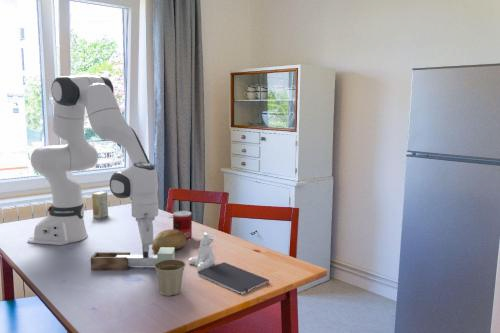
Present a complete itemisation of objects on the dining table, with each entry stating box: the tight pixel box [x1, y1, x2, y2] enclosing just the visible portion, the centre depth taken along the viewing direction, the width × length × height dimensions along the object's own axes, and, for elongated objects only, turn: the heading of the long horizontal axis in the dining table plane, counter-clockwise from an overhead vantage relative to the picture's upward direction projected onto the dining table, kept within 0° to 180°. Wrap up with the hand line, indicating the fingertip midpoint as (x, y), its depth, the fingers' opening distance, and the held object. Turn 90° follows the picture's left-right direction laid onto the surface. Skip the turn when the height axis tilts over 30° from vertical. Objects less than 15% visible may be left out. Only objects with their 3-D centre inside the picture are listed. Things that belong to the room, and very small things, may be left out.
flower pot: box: [153, 258, 187, 297], centre depth 130 cm, size 9×9×9 cm
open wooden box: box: [90, 251, 131, 271], centre depth 148 cm, size 12×5×4 cm, turn 93°
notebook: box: [197, 261, 270, 294], centre depth 140 cm, size 13×2×21 cm
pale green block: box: [156, 247, 176, 262], centre depth 148 cm, size 5×6×6 cm
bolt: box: [116, 245, 157, 267], centre depth 148 cm, size 16×3×9 cm, turn 93°
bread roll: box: [151, 228, 187, 254], centre depth 166 cm, size 10×15×8 cm, turn 138°
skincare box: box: [91, 190, 109, 219], centre depth 210 cm, size 6×4×12 cm
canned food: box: [172, 210, 193, 242], centre depth 180 cm, size 8×8×11 cm
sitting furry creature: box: [188, 232, 217, 272], centre depth 151 cm, size 10×9×12 cm
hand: (145, 249), depth 147 cm, fingers closed on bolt, 2 cm apart
